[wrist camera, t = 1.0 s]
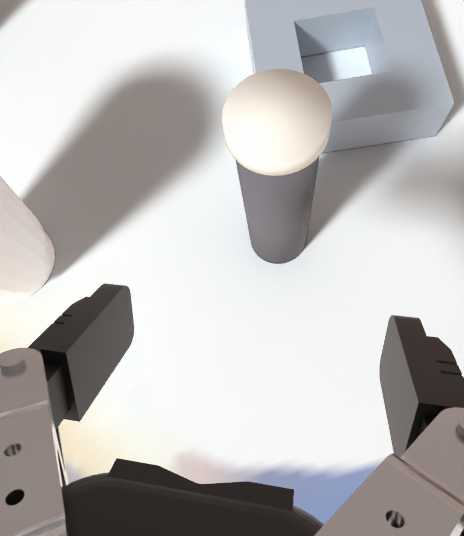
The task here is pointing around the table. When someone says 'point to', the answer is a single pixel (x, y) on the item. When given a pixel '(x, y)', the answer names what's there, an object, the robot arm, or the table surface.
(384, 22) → the socket
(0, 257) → the cup
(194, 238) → the table surface
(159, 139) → the table surface
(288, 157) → the plug
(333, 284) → the table surface
